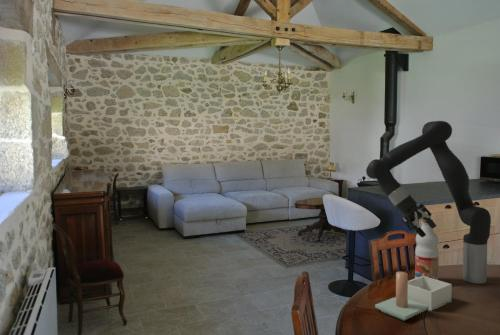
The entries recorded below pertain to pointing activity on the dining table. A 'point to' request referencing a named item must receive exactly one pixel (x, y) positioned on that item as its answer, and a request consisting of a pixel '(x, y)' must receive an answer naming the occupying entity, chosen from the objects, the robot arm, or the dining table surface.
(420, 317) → the dining table surface
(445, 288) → the box
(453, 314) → the dining table surface
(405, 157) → the robot arm
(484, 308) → the dining table surface
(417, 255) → the fruit juice
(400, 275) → the peg on square base
